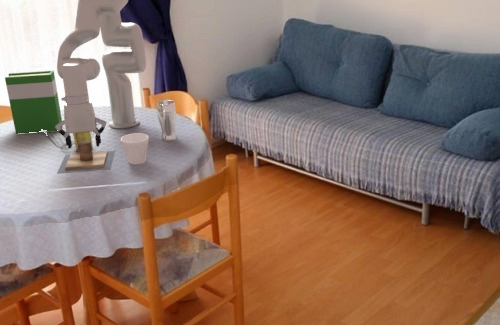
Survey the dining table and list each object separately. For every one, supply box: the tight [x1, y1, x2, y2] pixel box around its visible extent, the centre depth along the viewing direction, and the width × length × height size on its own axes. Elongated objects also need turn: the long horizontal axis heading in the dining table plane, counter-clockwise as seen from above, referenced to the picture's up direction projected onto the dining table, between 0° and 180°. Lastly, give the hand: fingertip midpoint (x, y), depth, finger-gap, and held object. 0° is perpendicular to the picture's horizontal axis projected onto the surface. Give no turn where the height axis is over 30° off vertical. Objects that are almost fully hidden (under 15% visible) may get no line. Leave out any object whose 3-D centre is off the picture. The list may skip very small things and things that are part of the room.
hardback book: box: [4, 70, 63, 135], centre depth 238 cm, size 18×7×24 cm, turn 99°
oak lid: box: [65, 141, 108, 170], centre depth 205 cm, size 13×13×7 cm
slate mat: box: [56, 150, 116, 174], centre depth 206 cm, size 18×18×1 cm
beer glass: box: [156, 99, 178, 143], centre depth 224 cm, size 7×7×15 cm
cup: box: [120, 132, 150, 165], centre depth 204 cm, size 10×10×9 cm
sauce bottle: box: [72, 132, 93, 152], centre depth 215 cm, size 7×6×20 cm
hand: (84, 146), depth 204 cm, fingers open, 9 cm apart
